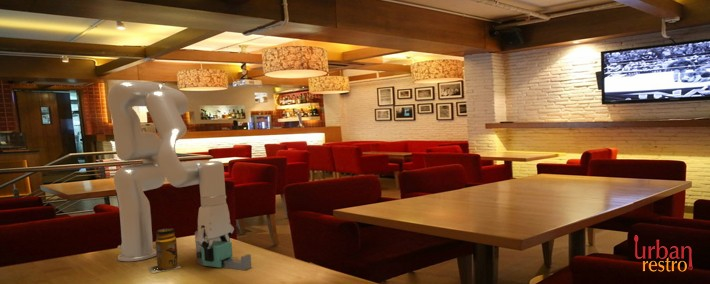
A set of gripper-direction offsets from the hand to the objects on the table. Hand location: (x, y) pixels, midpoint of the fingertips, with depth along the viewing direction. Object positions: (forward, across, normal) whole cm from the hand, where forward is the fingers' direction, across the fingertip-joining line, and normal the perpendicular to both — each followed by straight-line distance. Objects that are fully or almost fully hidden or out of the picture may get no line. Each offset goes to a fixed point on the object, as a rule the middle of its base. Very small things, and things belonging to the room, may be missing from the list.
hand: (217, 257), depth 151 cm
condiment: (+3, +8, -14) cm, 17 cm away
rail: (+2, 0, +2) cm, 3 cm away
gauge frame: (+2, -10, -12) cm, 15 cm away
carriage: (+2, 0, 0) cm, 2 cm away
